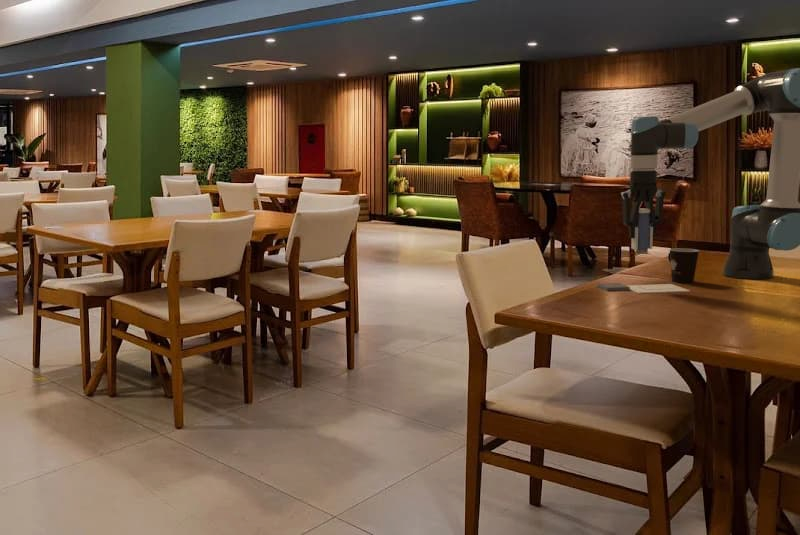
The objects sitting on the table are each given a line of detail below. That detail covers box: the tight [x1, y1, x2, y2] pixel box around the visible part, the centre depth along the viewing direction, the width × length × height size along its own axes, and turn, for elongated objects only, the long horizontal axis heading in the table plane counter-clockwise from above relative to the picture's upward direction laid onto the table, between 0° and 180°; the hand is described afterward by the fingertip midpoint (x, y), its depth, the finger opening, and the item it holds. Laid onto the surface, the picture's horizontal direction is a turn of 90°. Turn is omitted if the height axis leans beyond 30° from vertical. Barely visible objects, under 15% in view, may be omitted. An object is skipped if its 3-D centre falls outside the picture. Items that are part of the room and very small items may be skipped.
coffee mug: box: [667, 247, 700, 284], centre depth 240 cm, size 12×9×10 cm
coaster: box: [597, 282, 631, 292], centre depth 227 cm, size 7×7×1 cm
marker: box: [635, 207, 650, 254], centre depth 226 cm, size 4×4×13 cm
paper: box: [627, 283, 691, 294], centre depth 226 cm, size 16×11×1 cm
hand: (641, 248), depth 227 cm, fingers closed on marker, 4 cm apart
